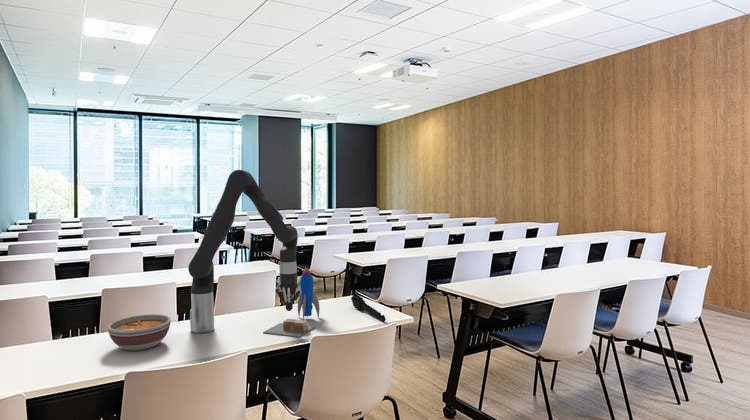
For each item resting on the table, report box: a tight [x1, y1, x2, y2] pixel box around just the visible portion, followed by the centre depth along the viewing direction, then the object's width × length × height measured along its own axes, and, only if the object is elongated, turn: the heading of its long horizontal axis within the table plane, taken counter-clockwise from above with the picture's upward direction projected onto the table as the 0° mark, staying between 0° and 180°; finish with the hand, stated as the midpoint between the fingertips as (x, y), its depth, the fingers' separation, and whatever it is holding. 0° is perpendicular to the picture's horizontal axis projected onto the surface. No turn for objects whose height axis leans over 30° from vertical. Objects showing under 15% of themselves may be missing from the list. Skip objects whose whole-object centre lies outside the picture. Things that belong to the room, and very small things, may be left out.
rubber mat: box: [262, 322, 316, 338], centre depth 212 cm, size 18×14×1 cm
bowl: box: [107, 313, 172, 352], centre depth 194 cm, size 23×23×10 cm
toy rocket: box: [297, 266, 320, 320], centre depth 227 cm, size 11×10×25 cm
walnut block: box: [282, 318, 309, 332], centre depth 210 cm, size 4×4×10 cm
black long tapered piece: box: [350, 292, 386, 323], centre depth 237 cm, size 35×4×8 cm, turn 28°
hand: (289, 310), depth 211 cm, fingers closed
